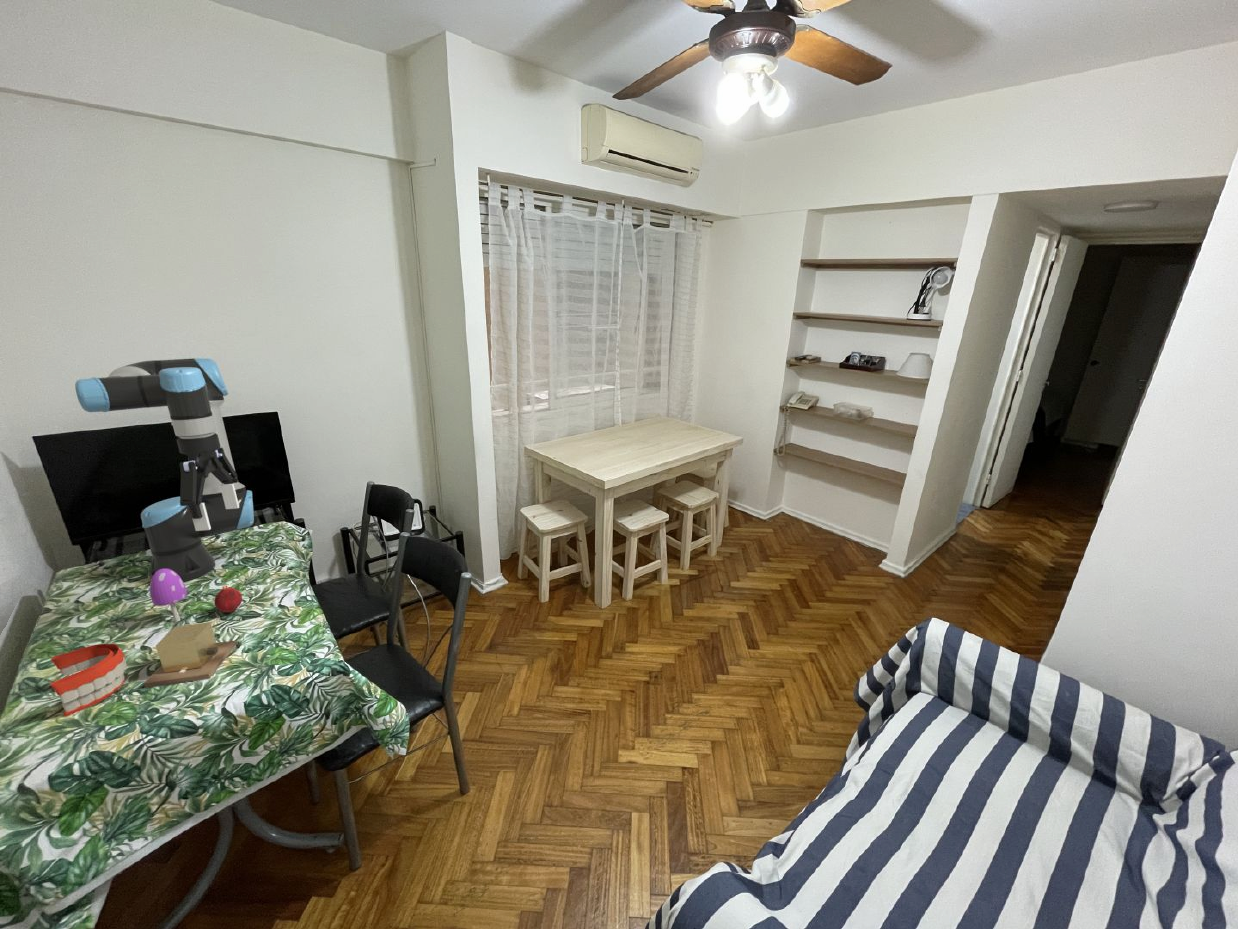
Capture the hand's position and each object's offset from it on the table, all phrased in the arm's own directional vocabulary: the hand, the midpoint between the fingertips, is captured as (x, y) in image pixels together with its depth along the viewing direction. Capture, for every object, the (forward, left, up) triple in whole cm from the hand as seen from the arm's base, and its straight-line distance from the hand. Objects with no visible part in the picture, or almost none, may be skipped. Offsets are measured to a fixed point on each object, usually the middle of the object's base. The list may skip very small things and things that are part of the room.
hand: (218, 518), depth 121 cm
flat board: (+18, -3, -29) cm, 34 cm away
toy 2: (-3, -17, -29) cm, 34 cm away
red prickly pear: (-4, -5, -29) cm, 30 cm away
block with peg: (+18, -3, -27) cm, 33 cm away
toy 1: (+22, -18, -29) cm, 41 cm away
